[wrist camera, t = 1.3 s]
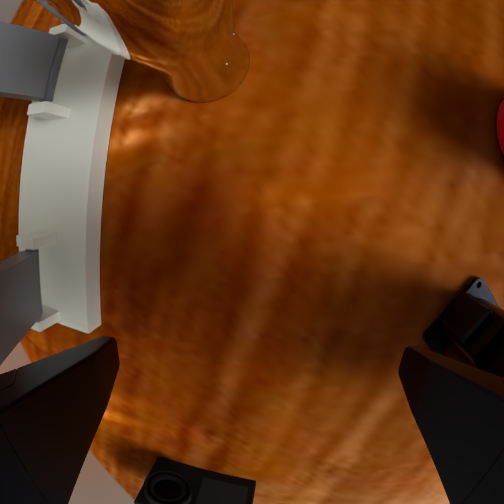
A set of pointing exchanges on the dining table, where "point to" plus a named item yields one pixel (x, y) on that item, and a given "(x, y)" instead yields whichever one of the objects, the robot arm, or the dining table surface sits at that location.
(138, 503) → the digital camera
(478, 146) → the dining table surface
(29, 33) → the grey lever
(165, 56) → the beer glass
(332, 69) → the dining table surface
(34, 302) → the red-capped switch paddle
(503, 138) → the soda can
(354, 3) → the dining table surface
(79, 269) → the switch console
